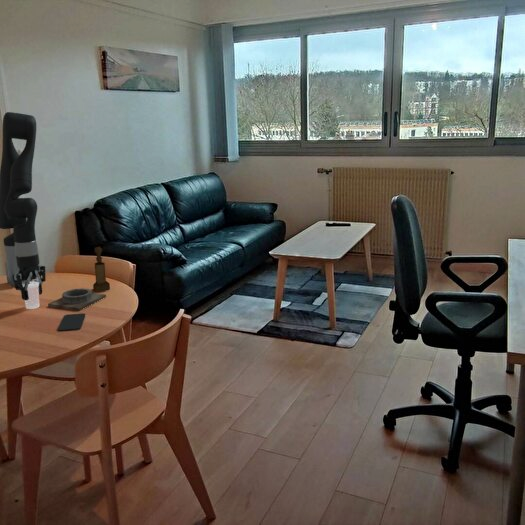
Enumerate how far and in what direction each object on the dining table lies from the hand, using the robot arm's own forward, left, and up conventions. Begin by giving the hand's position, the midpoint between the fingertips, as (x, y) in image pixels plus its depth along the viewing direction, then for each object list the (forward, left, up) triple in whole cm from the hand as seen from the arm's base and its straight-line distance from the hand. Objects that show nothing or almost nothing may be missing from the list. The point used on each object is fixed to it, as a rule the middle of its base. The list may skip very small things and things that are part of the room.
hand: (32, 296), depth 194 cm
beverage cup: (-1, 0, -4) cm, 4 cm away
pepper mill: (+11, +26, -4) cm, 29 cm away
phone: (+24, -8, -4) cm, 26 cm away
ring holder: (+12, +10, -4) cm, 16 cm away
